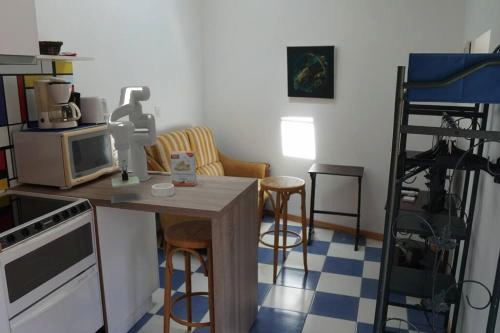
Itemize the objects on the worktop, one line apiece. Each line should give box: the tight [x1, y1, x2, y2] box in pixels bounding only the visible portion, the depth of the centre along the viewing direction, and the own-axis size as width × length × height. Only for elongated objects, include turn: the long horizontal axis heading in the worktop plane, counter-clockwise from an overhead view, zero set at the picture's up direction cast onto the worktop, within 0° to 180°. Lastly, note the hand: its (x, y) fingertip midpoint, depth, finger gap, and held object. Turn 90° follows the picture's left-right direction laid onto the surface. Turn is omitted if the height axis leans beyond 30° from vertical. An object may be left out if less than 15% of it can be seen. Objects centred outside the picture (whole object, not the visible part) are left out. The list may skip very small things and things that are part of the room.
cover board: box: [111, 169, 141, 188], centre depth 225 cm, size 14×14×7 cm
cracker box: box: [170, 150, 197, 187], centre depth 251 cm, size 14×6×21 cm, turn 84°
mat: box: [110, 192, 143, 204], centre depth 227 cm, size 14×16×1 cm
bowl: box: [151, 182, 175, 198], centre depth 233 cm, size 12×12×5 cm
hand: (125, 179), depth 226 cm, fingers closed on cover board, 3 cm apart
